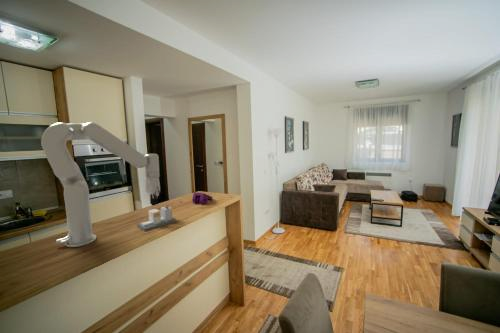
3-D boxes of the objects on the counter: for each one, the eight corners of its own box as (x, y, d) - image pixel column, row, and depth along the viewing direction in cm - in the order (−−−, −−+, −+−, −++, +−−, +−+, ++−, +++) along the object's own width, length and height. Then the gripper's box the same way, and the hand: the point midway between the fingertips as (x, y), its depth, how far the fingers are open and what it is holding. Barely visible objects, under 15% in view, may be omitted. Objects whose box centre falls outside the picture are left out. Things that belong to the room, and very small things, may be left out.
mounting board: (144, 231, 124) (143, 214, 123) (137, 226, 131) (136, 210, 130) (176, 221, 139) (175, 206, 138) (168, 217, 146) (168, 203, 145)
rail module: (153, 224, 130) (152, 212, 129) (149, 222, 134) (148, 210, 133) (160, 222, 133) (160, 211, 132) (156, 220, 137) (155, 208, 137)
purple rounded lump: (203, 206, 190) (191, 202, 174) (205, 196, 193) (193, 192, 177) (212, 207, 187) (201, 203, 171) (214, 197, 189) (203, 193, 173)
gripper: (140, 173, 132) (142, 203, 135) (152, 176, 122) (153, 208, 124) (152, 172, 138) (154, 200, 140) (164, 175, 128) (166, 205, 130)
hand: (154, 204), depth 132 cm, fingers closed
